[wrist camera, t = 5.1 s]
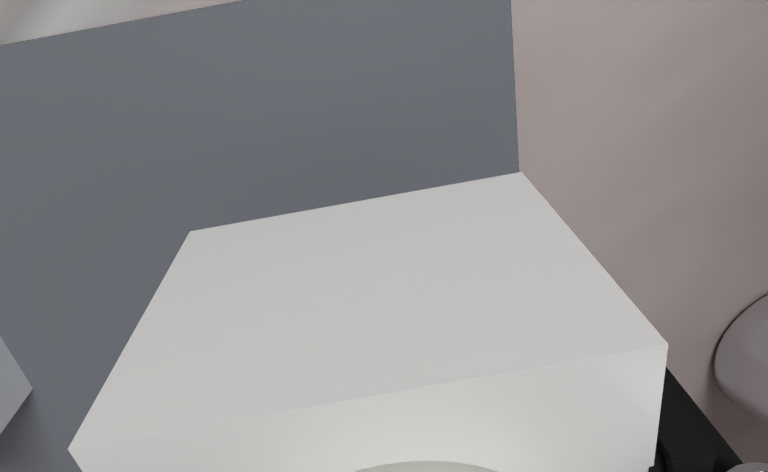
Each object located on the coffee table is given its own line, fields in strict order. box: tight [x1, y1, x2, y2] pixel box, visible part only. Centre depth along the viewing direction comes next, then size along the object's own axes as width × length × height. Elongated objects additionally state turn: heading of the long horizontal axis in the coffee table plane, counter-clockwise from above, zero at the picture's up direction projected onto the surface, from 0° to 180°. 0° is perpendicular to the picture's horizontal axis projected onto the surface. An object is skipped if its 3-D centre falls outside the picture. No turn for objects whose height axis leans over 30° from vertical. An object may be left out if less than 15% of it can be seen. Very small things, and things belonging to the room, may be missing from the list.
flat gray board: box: [0, 0, 519, 472], centre depth 14 cm, size 15×22×6 cm
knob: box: [68, 172, 668, 472], centre depth 9 cm, size 7×7×7 cm
